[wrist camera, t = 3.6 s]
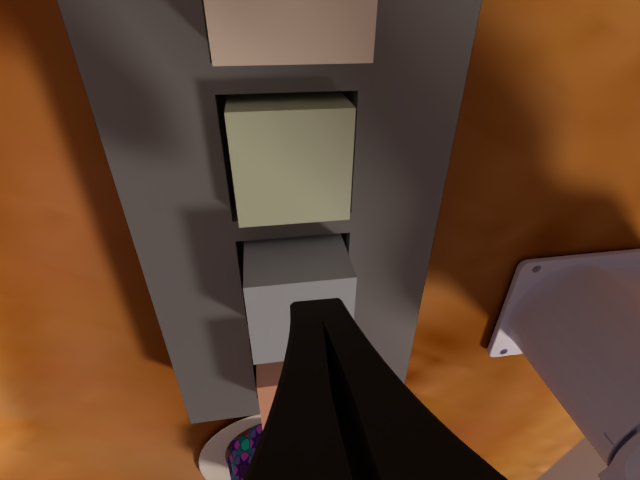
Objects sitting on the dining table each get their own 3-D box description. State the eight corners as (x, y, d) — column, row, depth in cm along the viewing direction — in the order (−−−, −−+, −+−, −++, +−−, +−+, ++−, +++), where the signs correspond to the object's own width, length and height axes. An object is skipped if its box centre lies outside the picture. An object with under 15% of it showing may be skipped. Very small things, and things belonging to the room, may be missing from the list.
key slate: (339, 230, 16) (357, 277, 14) (336, 300, 18) (351, 352, 16) (243, 237, 16) (242, 288, 13) (252, 309, 18) (253, 364, 15)
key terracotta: (335, 323, 19) (349, 375, 17) (333, 373, 21) (345, 428, 19) (255, 331, 19) (256, 388, 16) (261, 383, 21) (263, 440, 18)
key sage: (336, 85, 14) (355, 108, 12) (333, 182, 17) (349, 219, 14) (228, 88, 14) (224, 112, 11) (240, 188, 16) (239, 227, 14)
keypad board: (467, -174, 12) (525, -218, 9) (386, 354, 25) (402, 394, 22) (40, -202, 10) (-27, -264, 8) (196, 377, 23) (190, 423, 21)
